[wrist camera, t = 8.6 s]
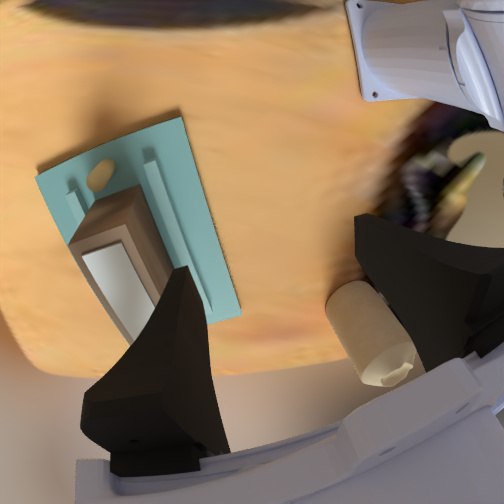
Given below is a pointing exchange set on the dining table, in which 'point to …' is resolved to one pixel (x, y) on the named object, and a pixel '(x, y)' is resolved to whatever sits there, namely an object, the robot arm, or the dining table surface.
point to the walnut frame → (123, 258)
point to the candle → (370, 334)
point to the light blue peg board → (149, 202)
